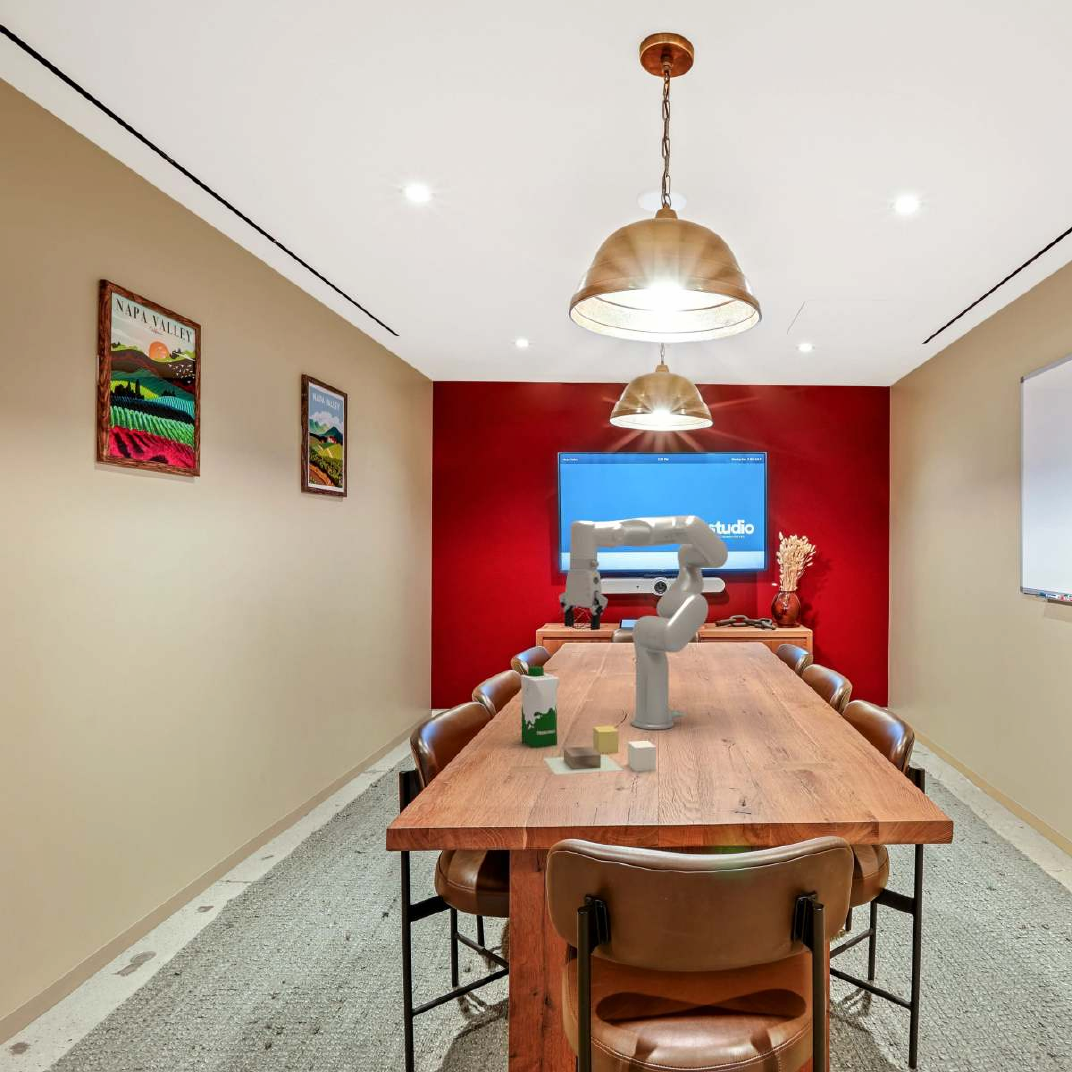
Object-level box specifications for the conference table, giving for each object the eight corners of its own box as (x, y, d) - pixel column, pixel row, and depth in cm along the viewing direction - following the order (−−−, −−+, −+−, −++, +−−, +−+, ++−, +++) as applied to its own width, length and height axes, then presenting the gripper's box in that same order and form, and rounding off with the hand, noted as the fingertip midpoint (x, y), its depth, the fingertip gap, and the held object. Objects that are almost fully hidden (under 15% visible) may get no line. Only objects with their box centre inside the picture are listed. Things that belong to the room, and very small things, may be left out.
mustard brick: (611, 749, 177) (611, 725, 177) (618, 755, 172) (618, 731, 172) (593, 750, 176) (593, 727, 176) (599, 756, 171) (599, 732, 171)
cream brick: (647, 766, 163) (647, 740, 163) (655, 772, 159) (655, 746, 159) (627, 767, 162) (627, 741, 162) (635, 774, 157) (635, 748, 158)
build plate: (606, 756, 170) (606, 754, 170) (622, 772, 158) (622, 769, 158) (543, 760, 167) (543, 758, 167) (555, 777, 155) (555, 774, 155)
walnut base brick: (591, 758, 167) (591, 746, 167) (600, 767, 160) (600, 754, 160) (563, 760, 165) (563, 747, 165) (571, 769, 158) (571, 756, 158)
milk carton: (546, 738, 186) (546, 664, 186) (562, 747, 178) (563, 670, 178) (516, 743, 182) (517, 667, 182) (532, 752, 174) (532, 672, 174)
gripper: (616, 566, 185) (615, 630, 185) (570, 564, 198) (568, 624, 197) (597, 566, 180) (596, 632, 180) (551, 564, 193) (550, 625, 192)
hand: (581, 628), depth 189 cm, fingers open, 9 cm apart
